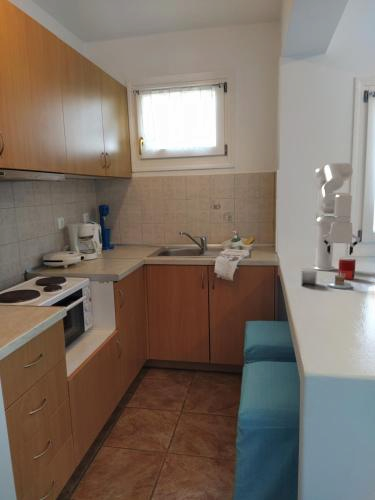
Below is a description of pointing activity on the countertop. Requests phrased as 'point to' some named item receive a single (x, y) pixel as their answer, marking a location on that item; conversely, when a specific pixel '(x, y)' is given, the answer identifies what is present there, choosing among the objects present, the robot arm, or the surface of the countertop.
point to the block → (339, 280)
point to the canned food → (347, 267)
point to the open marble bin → (309, 276)
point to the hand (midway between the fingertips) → (339, 254)
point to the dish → (332, 285)
